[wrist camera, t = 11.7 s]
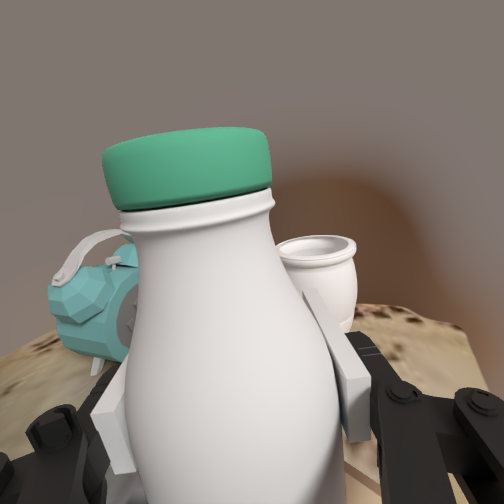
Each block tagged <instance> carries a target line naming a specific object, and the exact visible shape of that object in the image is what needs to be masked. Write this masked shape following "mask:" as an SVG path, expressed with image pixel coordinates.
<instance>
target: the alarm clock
mask: <svg viewBox="0 0 504 504" xmlns="http://www.w3.org/2000/svg"><path fill="white" fill-rule="evenodd" d="M115 235H122V236H123V237H124V238H125V239H127V240H128V241H129V242H132V243H131V244H124V245H122V246H121V247H120V248H119V249H118V250H117V251H116V252H114V254H113V256H112V257H109V258H107V259H105V263H106V264H101V265H97V266H92V267H87V266H80V265H81V262H82V260H83V258H84V256H85V254H86V253H87V252H88V251H89V250H90V249H91V248H92V247H93V246H94V245H95V244H96V243H98V242H100V241H102V240H104V239H107V238H109V237H113V236H115ZM138 287H139V267H138V257H137V251H136V248H135V244H134V241H133V239H132V237H131V235H130V234H128V233H125V232H123V231H121V230H117V229H111V230H105V231H99V232H96V233H94V234H92V235H90V236H88V237H86V238H84V239H83V240H82V241H81V242H80V243H79V244H78V246H77V247H76V248H75V249H74V250H73V251H72V252H71V254H70V255H69V257H68V258H67V260H66V262H65V263H64V265H63V267H62V268H61V269H60V271H59V272H58V273H56V274H55V275H54V278H53V281H52V282H51V284H50V285H49V286H48V287H47V290H48V298H49V304H50V311H51V314H53V315H54V316H55V317H56V319H57V333H58V335H59V337H60V339H61V340H62V342H63V344H64V345H65V347H66V348H68V349H70V350H72V351H74V352H77V353H79V354H83V355H88V356H93V357H94V359H93V364H92V369H91V374H90V376H94V375H97V374H98V373H99V372H100V371H101V370H102V368H103V365H104V362H105V359H107V360H111V361H116V362H121V363H123V361H124V359H125V358H126V356H127V354H128V353H129V349H130V345H131V340H132V335H133V330H134V325H135V320H136V313H137V305H138Z"/></svg>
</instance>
